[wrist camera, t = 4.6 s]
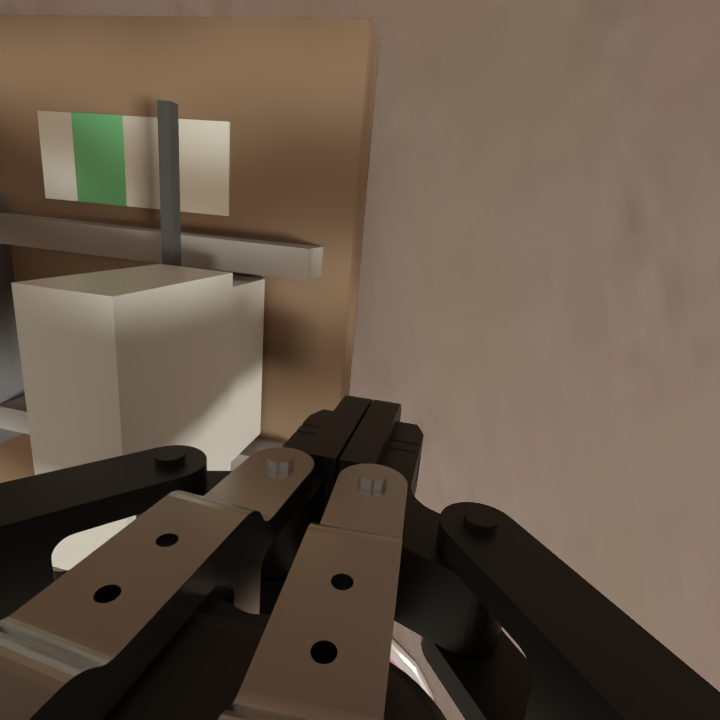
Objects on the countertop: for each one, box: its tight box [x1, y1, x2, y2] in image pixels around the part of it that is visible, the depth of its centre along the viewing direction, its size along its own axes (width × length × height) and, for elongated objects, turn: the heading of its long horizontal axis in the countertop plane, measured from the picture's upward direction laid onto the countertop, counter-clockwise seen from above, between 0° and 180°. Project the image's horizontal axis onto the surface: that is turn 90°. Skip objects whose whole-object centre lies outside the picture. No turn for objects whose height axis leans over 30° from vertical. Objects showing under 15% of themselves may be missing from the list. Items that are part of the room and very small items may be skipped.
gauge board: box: [0, 15, 380, 483], centre depth 17 cm, size 22×18×8 cm
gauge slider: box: [11, 100, 265, 570], centre depth 14 cm, size 12×4×8 cm, turn 175°
